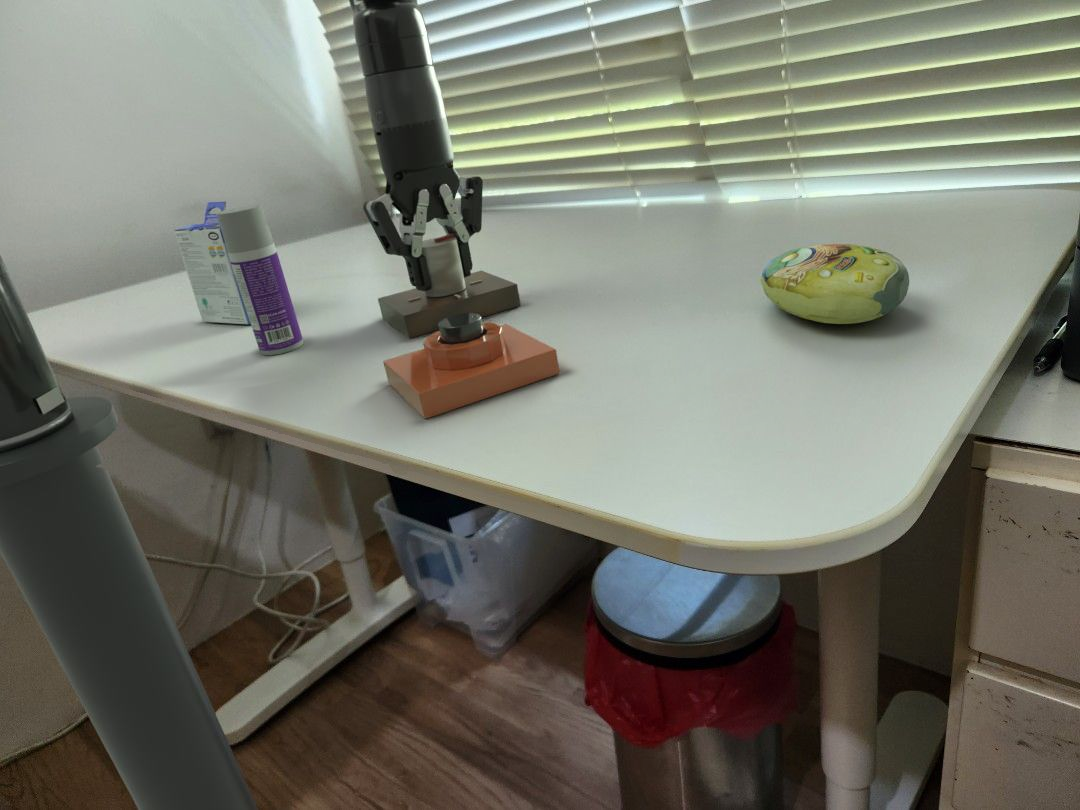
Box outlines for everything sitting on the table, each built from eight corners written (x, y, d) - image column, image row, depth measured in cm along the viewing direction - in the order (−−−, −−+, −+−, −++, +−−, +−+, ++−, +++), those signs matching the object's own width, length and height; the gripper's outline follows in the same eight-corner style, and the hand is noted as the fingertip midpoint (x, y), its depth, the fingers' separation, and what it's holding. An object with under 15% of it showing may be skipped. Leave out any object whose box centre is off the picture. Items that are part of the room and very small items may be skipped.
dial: (438, 299, 80) (427, 245, 78) (417, 294, 83) (406, 242, 81) (474, 287, 82) (463, 235, 80) (452, 282, 86) (441, 232, 83)
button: (451, 350, 60) (446, 330, 60) (436, 340, 63) (432, 321, 63) (491, 338, 62) (487, 318, 61) (475, 329, 65) (471, 310, 64)
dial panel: (409, 338, 77) (403, 314, 76) (382, 319, 86) (377, 297, 85) (520, 305, 82) (516, 282, 81) (485, 290, 90) (481, 268, 89)
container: (311, 338, 83) (271, 201, 77) (290, 353, 79) (246, 210, 73) (274, 341, 84) (232, 207, 78) (251, 356, 80) (205, 216, 74)
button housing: (425, 419, 58) (413, 371, 56) (388, 383, 66) (377, 341, 64) (560, 373, 62) (553, 328, 60) (509, 345, 70) (502, 305, 69)
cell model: (805, 321, 57) (736, 220, 68) (811, 387, 63) (746, 284, 73) (946, 270, 56) (853, 175, 67) (939, 342, 62) (854, 244, 72)
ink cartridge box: (284, 311, 96) (250, 197, 90) (249, 326, 92) (211, 207, 86) (236, 309, 101) (201, 201, 96) (201, 323, 97) (162, 211, 92)
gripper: (447, 111, 82) (476, 263, 89) (329, 133, 75) (371, 298, 81) (486, 106, 77) (514, 268, 84) (363, 129, 69) (405, 306, 76)
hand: (443, 282), depth 82 cm, fingers closed on dial, 4 cm apart
